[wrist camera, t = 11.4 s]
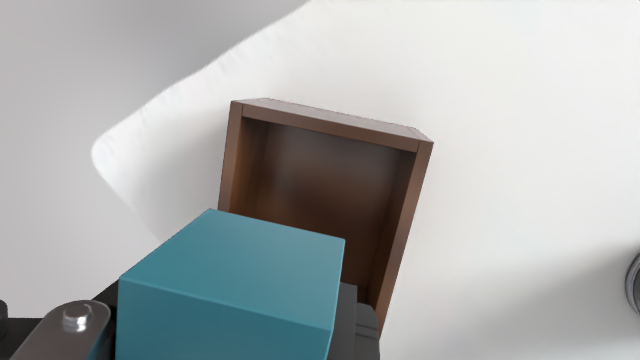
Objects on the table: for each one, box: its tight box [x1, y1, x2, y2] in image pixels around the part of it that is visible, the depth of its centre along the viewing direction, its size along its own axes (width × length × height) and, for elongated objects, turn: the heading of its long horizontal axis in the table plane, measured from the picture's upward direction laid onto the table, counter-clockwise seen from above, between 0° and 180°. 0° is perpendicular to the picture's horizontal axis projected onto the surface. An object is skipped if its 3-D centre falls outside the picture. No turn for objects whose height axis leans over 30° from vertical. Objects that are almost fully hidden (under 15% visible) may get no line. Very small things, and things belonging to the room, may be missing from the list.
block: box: [115, 209, 345, 360], centre depth 10 cm, size 4×4×4 cm
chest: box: [218, 98, 434, 341], centre depth 30 cm, size 17×14×9 cm
